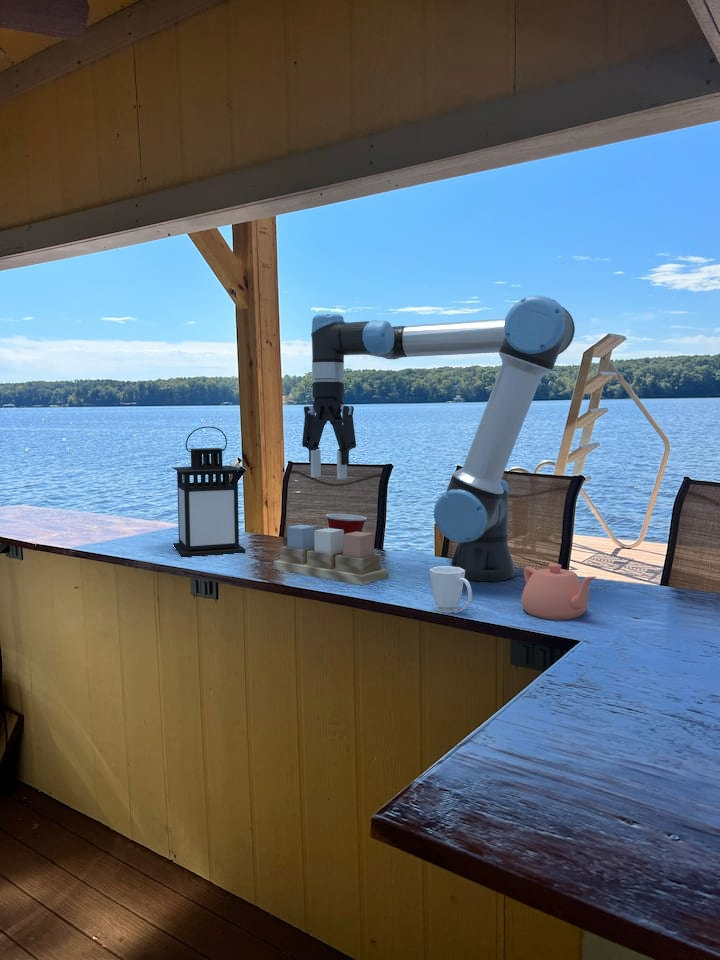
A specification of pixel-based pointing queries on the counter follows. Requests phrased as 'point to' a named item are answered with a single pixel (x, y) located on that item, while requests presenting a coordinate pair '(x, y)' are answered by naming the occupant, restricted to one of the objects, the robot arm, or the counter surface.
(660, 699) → the counter surface
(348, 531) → the plastic cup
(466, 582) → the cup
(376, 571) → the beige slotted block
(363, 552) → the terracotta key
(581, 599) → the teapot
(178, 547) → the lantern
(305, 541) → the slate key
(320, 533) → the ivory key
